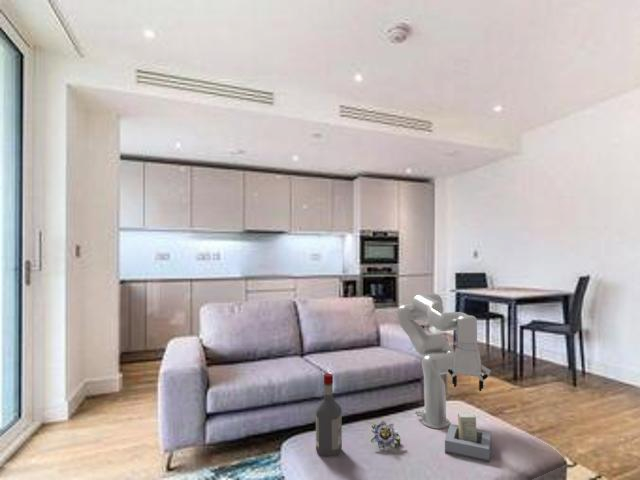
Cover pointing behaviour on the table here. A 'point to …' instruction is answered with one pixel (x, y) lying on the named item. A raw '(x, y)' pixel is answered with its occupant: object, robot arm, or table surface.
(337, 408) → the liquor
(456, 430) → the socket block
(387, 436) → the passion flower
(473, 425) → the skincare box
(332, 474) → the table surface
